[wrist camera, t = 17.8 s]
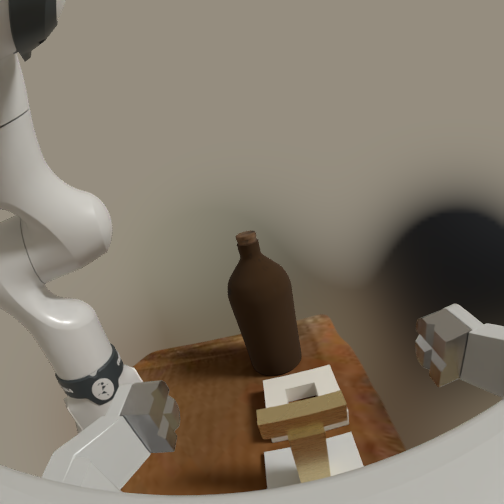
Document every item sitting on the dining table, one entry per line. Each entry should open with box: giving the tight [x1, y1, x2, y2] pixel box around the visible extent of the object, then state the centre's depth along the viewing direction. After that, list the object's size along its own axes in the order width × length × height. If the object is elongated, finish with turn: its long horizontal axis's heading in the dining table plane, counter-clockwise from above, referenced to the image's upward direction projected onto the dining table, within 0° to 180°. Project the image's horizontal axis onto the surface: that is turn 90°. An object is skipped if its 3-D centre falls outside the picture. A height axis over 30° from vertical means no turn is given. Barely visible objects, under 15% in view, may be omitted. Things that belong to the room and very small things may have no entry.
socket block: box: [263, 365, 349, 443], centre depth 41 cm, size 11×11×3 cm
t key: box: [257, 390, 347, 483], centre depth 27 cm, size 8×3×14 cm, turn 92°
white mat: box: [264, 432, 364, 489], centre depth 29 cm, size 12×12×1 cm
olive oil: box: [228, 231, 301, 376], centre depth 52 cm, size 11×11×25 cm
